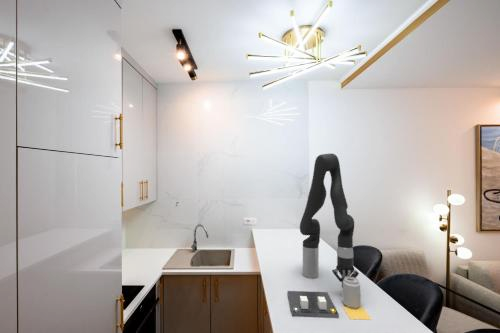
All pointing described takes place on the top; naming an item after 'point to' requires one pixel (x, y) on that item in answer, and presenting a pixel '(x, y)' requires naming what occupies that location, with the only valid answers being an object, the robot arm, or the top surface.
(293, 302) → the panel
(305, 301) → the block
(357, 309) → the pad
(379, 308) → the top surface
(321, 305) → the block
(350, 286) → the can
